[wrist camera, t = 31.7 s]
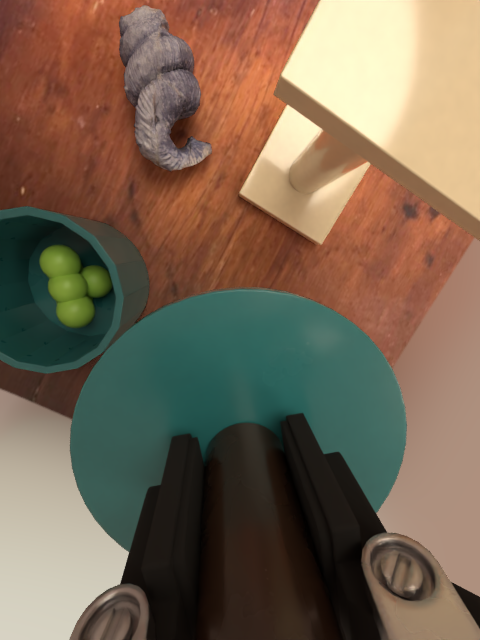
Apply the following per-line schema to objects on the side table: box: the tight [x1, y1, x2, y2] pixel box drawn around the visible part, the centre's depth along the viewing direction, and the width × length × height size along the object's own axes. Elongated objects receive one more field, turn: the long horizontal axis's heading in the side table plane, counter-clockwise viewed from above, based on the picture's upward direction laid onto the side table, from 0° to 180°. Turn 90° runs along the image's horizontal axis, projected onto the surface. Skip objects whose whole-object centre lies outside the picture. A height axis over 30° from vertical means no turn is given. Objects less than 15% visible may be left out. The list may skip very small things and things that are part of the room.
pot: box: [0, 206, 149, 373], centre depth 22 cm, size 10×10×8 cm
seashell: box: [119, 5, 212, 171], centre depth 21 cm, size 5×5×10 cm
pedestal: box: [239, 0, 480, 245], centre depth 16 cm, size 8×8×18 cm
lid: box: [70, 287, 407, 640], centre depth 8 cm, size 11×11×7 cm
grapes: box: [39, 245, 113, 328], centre depth 23 cm, size 6×5×4 cm
